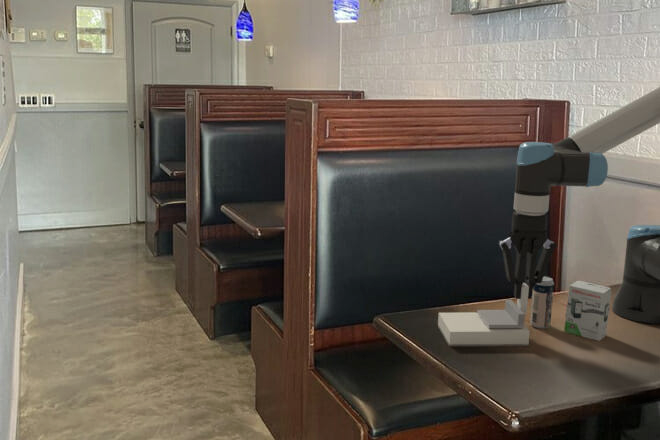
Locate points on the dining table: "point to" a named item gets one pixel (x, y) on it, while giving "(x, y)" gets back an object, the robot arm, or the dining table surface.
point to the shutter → (503, 316)
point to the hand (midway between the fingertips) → (521, 311)
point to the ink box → (587, 310)
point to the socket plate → (478, 331)
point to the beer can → (542, 303)
